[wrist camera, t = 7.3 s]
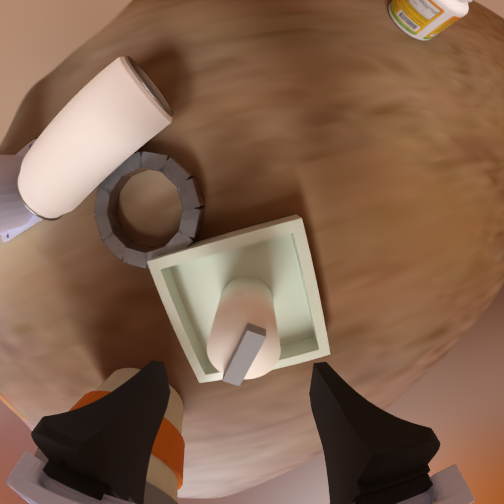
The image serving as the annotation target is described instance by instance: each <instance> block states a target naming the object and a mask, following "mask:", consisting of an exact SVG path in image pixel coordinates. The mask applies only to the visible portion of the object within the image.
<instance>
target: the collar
mask: <svg viewBox="0 0 504 504" xmlns="http://www.w3.org/2000/svg"><path fill="white" fill-rule="evenodd" d="M148 169H150V170H155V171H160V172H162V173H163V174H164V175H165V176H166V177H167V178H168V179H169V180H170V181H171V182H172V183H173V184H174V185H176V186H177V189H178V193H179V196H180V200H181V203H182V206H183V212H182V217H181V221H180V226H179V231H178V232H177V233H176V235H175V236H174V237H173V238H172V239H171V240H170V242H169V243H168V244H165V245H162V246H159V247H156V248H150V247H146V246H143V245H139V244H135V243H134V242H133V241H132V240H131V239H130V238H129V237H128V236H127V235H126V234H125V233H124V232H123V231H122V228H121V225H120V222H119V219H118V215H117V212H116V210H117V204H118V198H119V192H120V191H121V189H122V188H123V187H124V185H125V184H126V183H127V181H128V180H129V179H130V177H131V176H133V175H135V174H138V173H140V172H143V171H145V170H148ZM194 177H195V176H194V175H193V174H192V173H191V172H190V171H189V170H188V169H187V168H186V167H185V166H184V165H183V164H181V163H180V162H179V161H178V160H177V159H175V158H173V157H171V156H168V155H162V154H156V153H150V152H144V151H142V152H137V153H135V154H133V155H131V156H130V157H129V158H127V159H126V160H125V161H124V162H123V163H122V164H121V165H119V166H118V167H117V168H116V169H115V170H114V171H113V172H112V173H111V174H110V175H109V176H107V177H106V178H105V179H104V180H103V181H102V182H101V183H100V184H99V185H100V186H101V187H98V192H97V198H96V204H95V211H94V213H97V214H98V215H96V216H95V219H96V223H97V226H98V229H99V233H100V236H101V239H102V240H104V239H106V240H105V241H104V244H105V245H106V246H107V247H108V248H109V249H110V250H111V251H112V252H113V253H114V254H115V256H116V257H117V258H118V259H119V260H120V261H121V260H122V259H123V262H124V263H127V264H131V265H134V266H138V267H141V268H144V269H146V268H149V266H148V263H147V261H149V260H150V259H151V258H154V257H158V256H161V255H164V254H168V253H171V252H175V251H178V250H181V249H185V248H187V247H188V246H189V245H190V244H191V243H192V242H193V241H194V240H195V239H196V237H197V235H198V234H199V230H200V225H201V221H202V216H203V212H204V208H202V207H199V206H202V205H204V202H203V199H202V195H201V192H200V188H199V185H198V181H197V179H193V178H194Z"/></svg>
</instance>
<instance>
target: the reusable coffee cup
mask: <svg viewBox="0 0 504 504" xmlns="http://www.w3.org/2000/svg"><path fill="white" fill-rule="evenodd" d="M140 370H141V369H136V368H122V369H118V370H116V371H115V372H113V373H112V374H111V375H110V376H109V377H108V378H107V379H106V380H105V381H104V382H103V383H102V384H101V385H100V387H99V388H98V389H97V390H96V391H92V392H89V393H87V394H85V395H84V396H83V397H82V398H81V399H80V400H79V401H78V402H77V403H76V404H75V405H74V406H73V407H72V408H71V409H70V410H69V411H72V410H75V409H78V408H81V407H83V406H85V405H88V404H90V403H92V402H94V401H96V400H98V399H100V398H102V397H104V396H106V395H107V394H109V393H111V392H112V391H114V390H115V389H116V388H118V387H119V386H121V385H122V384H124V383H125V382H126V381H128V380H129V379H130V378H131V377H133V376H134V375H135V374H136V373H138V372H139V371H140ZM169 388H170V391H171V392H170V397H169V402H168V406H167V409H166V412H165V415H164V417H163V420H162V423H161V425H160V428H159V431H158V433H157V436H156V438H155V441H154V444H153V447H152V452H151V456H150V461H149V466H148V471H147V477H146V484H145V492H144V504H178V503H177V490H178V489H180V488H181V486H182V485H183V464H184V447H185V443H184V440H183V437H182V436H181V432H182V421H183V411H184V406H183V402H182V400H181V398H180V396H179V394H178V393H177V392H176V390H175V389H174V388H173V387H172V386H171V385H170V384H169ZM35 457H37V458H39V459H40V460H42V461H43V462H45V463H46V464H47V462H48V459H47V457H46V456H45V455H44V454H43V453H42V451H41V450H40V449H39V448H38V449H37V451H36V454H35Z"/></svg>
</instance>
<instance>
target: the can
mask: <svg viewBox="0 0 504 504" xmlns="http://www.w3.org/2000/svg"><path fill="white" fill-rule="evenodd" d="M173 117H174V112H173V110H172V109H171V107H170V105H169V104H168V102H167V101H166V99H165V98H164V96H163V95H162V94H161V92H160V91H159V90H158V88H157V87H156V86H155V84H154V83H153V82H152V81H151V79H150V78H149V77H148V76H147V74H146V73H145V72H144V71H143V70H142V69H141V68H140V66H139V65H138V64H137V63H136V62H135V61H134V60H133V59H132V58H130V57H129V56H126V57H118V58H117V59H116V60H114V61H113V62H112V63H111V64H109V65H108V66H107V67H106V68H105V69H103V70H102V71H101V72H100V73H99V74H98V75H96V76H95V77H94V78H93V79H92V80H91V81H90V82H89V83H88V84H87V85H86V86H84V87H83V88H82V89H81V90H80V91H79V92H78V93H77V94H76V95H75V96H74V97H73V98H72V99H71V100H70V101H69V102H68V103H67V105H66V106H65V107H64V108H63V109H62V110H61V111H60V112H59V113H58V114H57V116H56V117H55V118H54V119H53V120H52V121H51V122H50V124H49V125H48V126H47V127H46V128H45V130H44V131H43V132H42V133H41V135H40V136H39V137H38V138H37V140H36V141H35V142H34V144H33V145H32V146H31V148H30V149H29V151H28V152H27V154H26V155H25V157H24V159H23V161H22V165H21V170H20V171H19V173H18V175H17V178H16V189H17V192H18V195H19V197H20V199H21V201H22V203H23V204H24V205H25V206H26V208H27V209H28V210H29V211H30V212H32V213H33V214H34V215H36V216H38V217H39V218H42V219H45V220H50V221H52V220H57V219H59V218H61V217H62V216H63V214H65V213H68V212H70V211H72V210H74V209H75V208H76V207H77V206H78V205H79V204H80V203H81V202H82V201H83V200H84V199H85V198H86V197H87V196H88V195H89V194H90V193H91V192H92V191H93V190H94V189H95V188H96V187H97V186H98V185H99V184H100V183H101V182H102V181H103V180H104V179H105V178H106V177H107V176H109V175H110V174H111V173H112V172H113V171H114V170H115V169H116V168H117V167H118V166H119V165H121V164H122V163H123V162H124V161H125V160H126V159H127V158H129V157H130V156H131V155H132V154H133V153H134V152H136V151H137V150H138V149H139V148H140V147H142V146H143V145H144V144H145V143H146V142H148V141H149V140H150V139H151V138H153V137H154V136H155V135H156V134H158V133H159V132H160V131H162V130H163V129H164V128H165V127H167V126H168V125H169V124H170V123H172V118H173Z"/></svg>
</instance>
